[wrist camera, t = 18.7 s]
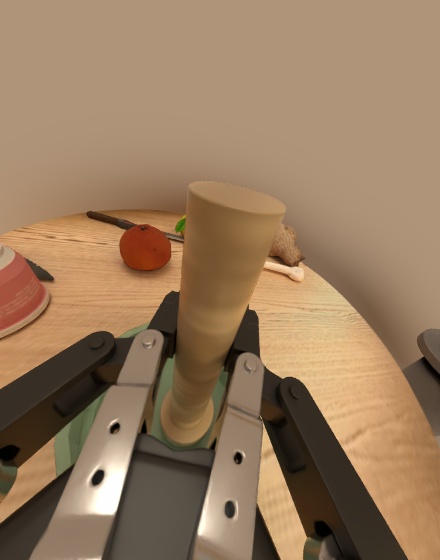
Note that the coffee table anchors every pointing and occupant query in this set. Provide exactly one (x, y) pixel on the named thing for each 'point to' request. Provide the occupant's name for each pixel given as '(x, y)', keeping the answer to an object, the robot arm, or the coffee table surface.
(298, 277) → the cream knobbed rod
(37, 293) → the container
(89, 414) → the bowl
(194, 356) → the stick
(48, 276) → the knife
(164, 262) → the fruit
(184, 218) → the lemon
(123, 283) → the coffee table surface
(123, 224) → the knife
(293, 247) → the figurine
